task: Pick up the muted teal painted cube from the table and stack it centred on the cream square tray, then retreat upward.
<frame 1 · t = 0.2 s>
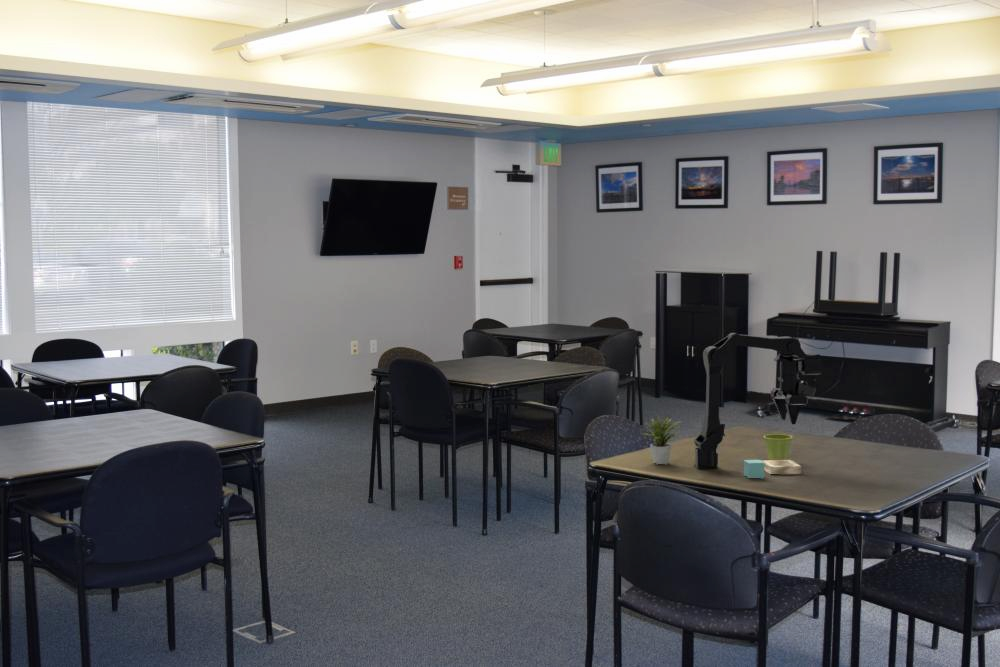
hand: (788, 422, 332), 14 cm above the table, tool pointing down, fingers open, 9 cm apart
plant pot: (777, 462, 339), on the table
house plant: (662, 464, 338), on the table
teal cube: (753, 477, 317), on the table
cream square tray: (780, 470, 325), on the table
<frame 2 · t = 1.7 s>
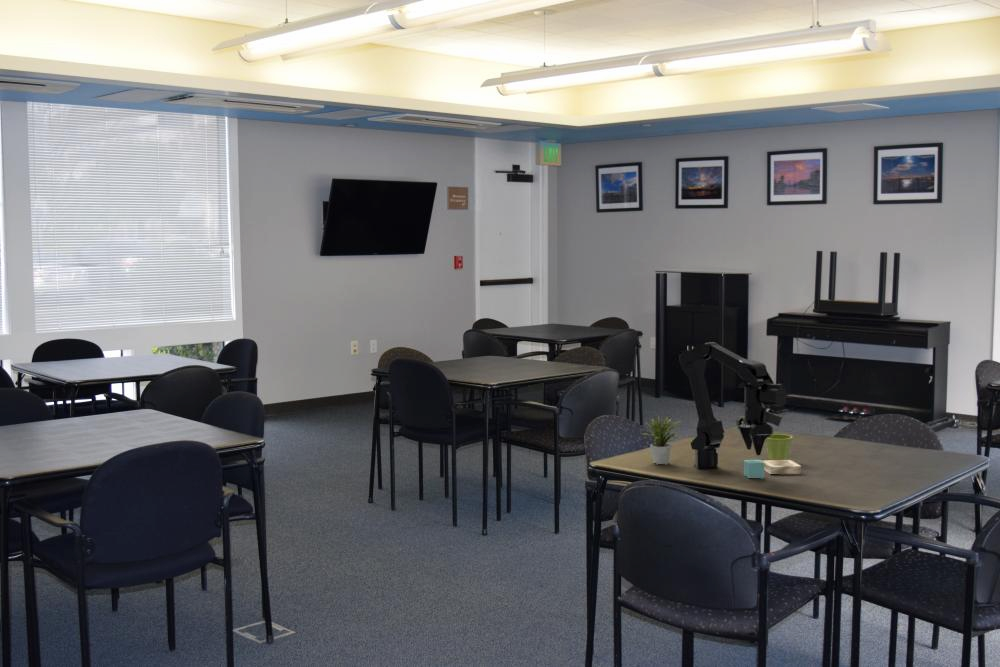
hand: (753, 452, 316), 8 cm above the table, tool pointing down, fingers open, 9 cm apart
nothing on the table moved.
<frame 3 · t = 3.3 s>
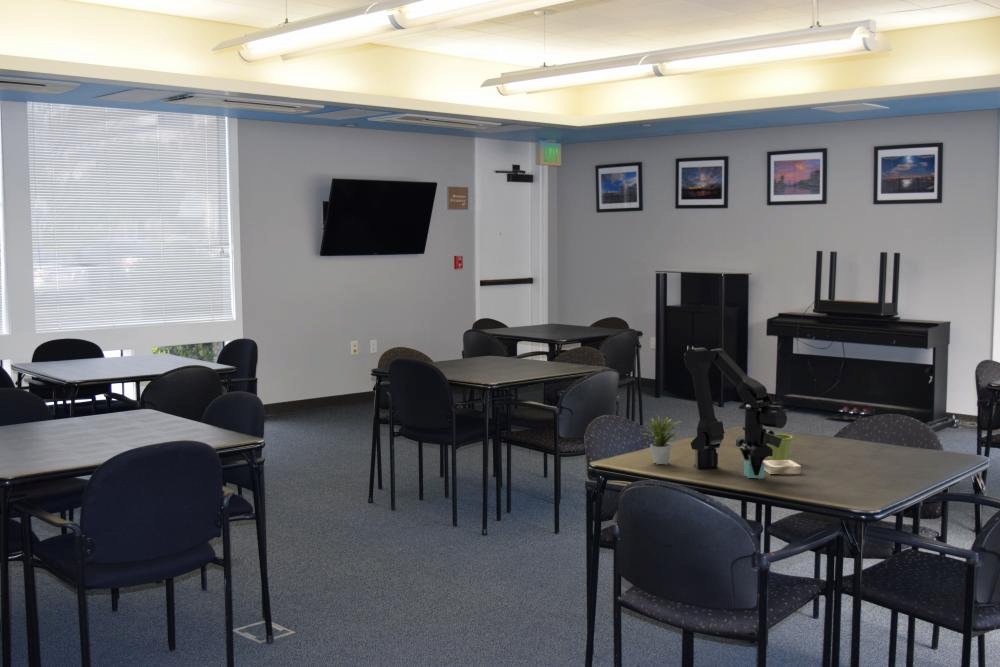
hand: (753, 473, 317), 1 cm above the table, tool pointing down, fingers closed on teal cube, 5 cm apart
teal cube: (753, 476, 317), on the table, touching gripper
everything else where it was.
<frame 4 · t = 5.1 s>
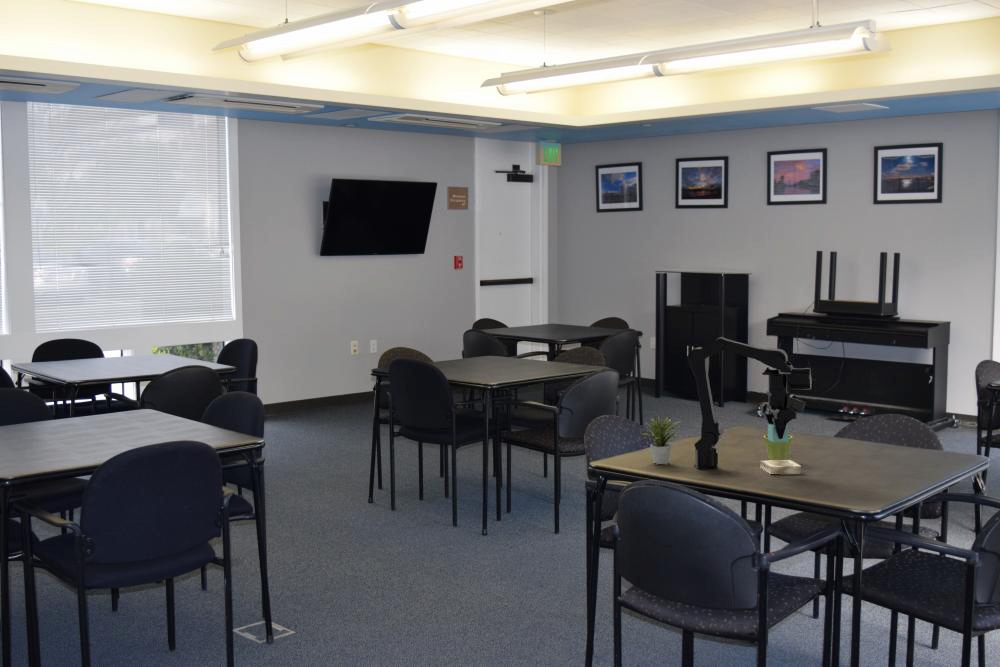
hand: (777, 437, 322), 11 cm above the table, tool pointing down, fingers closed on teal cube, 5 cm apart
teal cube: (778, 440, 322), point 10 cm above the table, touching gripper
everything else where it was.
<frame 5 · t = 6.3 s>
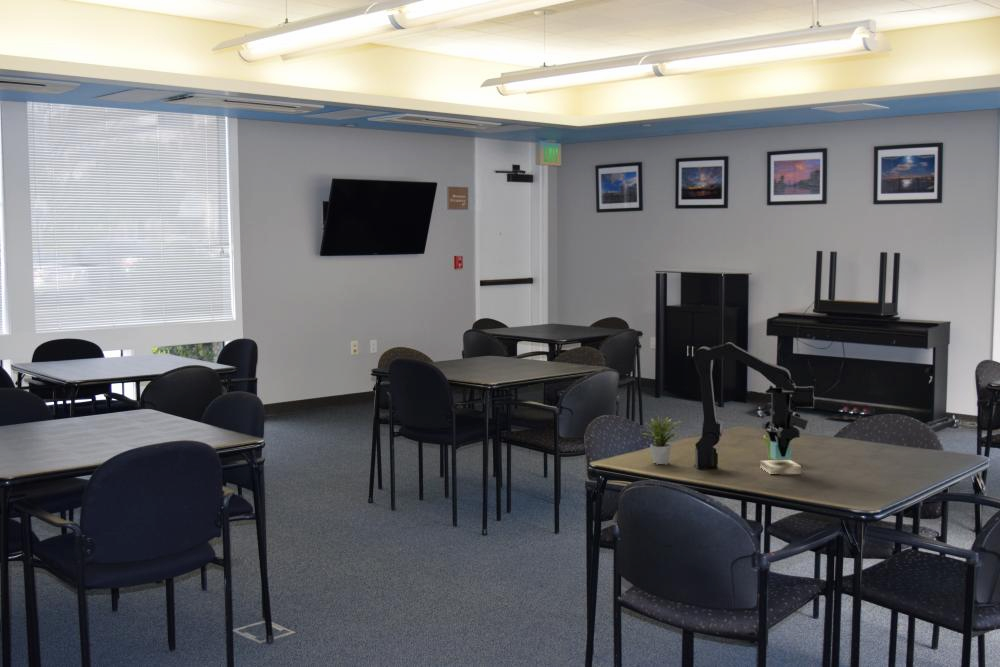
hand: (780, 455, 324), 5 cm above the table, tool pointing down, fingers closed on teal cube, 5 cm apart
teal cube: (780, 458, 324), point 4 cm above the table, touching gripper
everything else where it was.
when the fingers open (4 cm above the table, at t = 7.2 s): teal cube stays where it is, resting on cream square tray.
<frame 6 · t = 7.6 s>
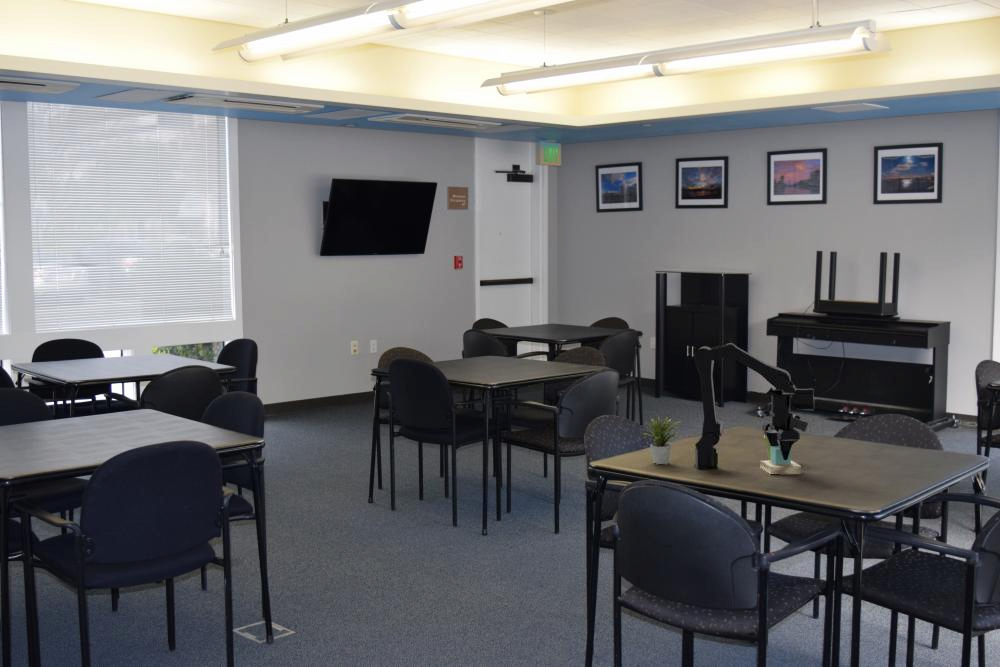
hand: (780, 457, 324), 4 cm above the table, tool pointing down, fingers open, 9 cm apart
teal cube: (780, 463, 324), point 3 cm above the table, touching cream square tray
everything else where it was.
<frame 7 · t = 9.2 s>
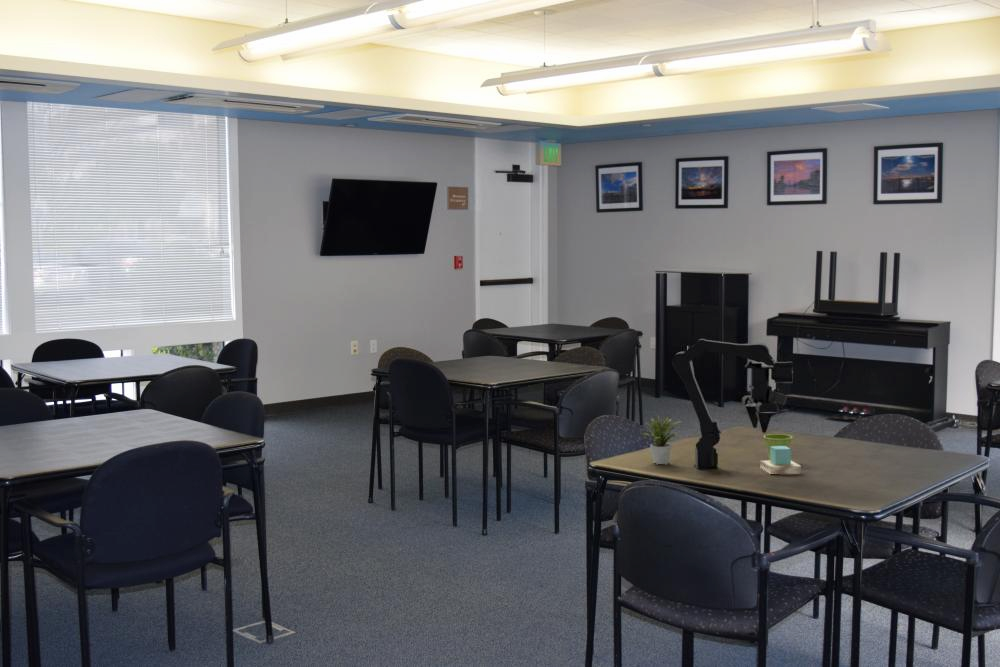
hand: (759, 430, 326), 13 cm above the table, tool pointing down, fingers open, 9 cm apart
nothing on the table moved.
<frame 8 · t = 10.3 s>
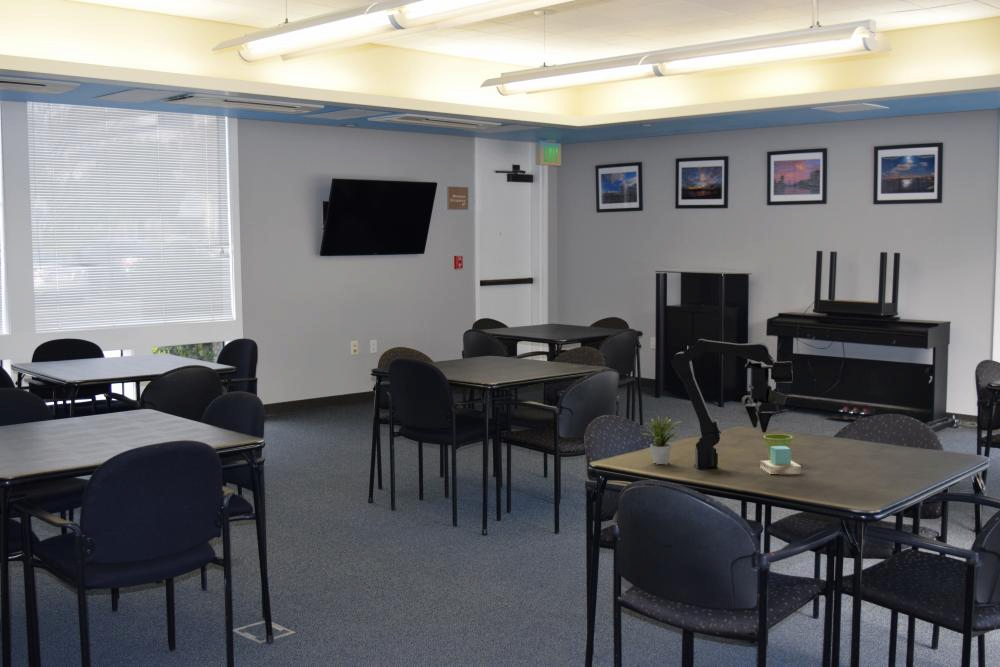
hand: (759, 429, 326), 13 cm above the table, tool pointing down, fingers open, 9 cm apart
nothing on the table moved.
at the end: teal cube inside the target area on the cream square tray (0.0 cm from its centre), point 2.6 cm above the cream square tray's base; teal cube tilted 0°; the gripper is holding nothing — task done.
